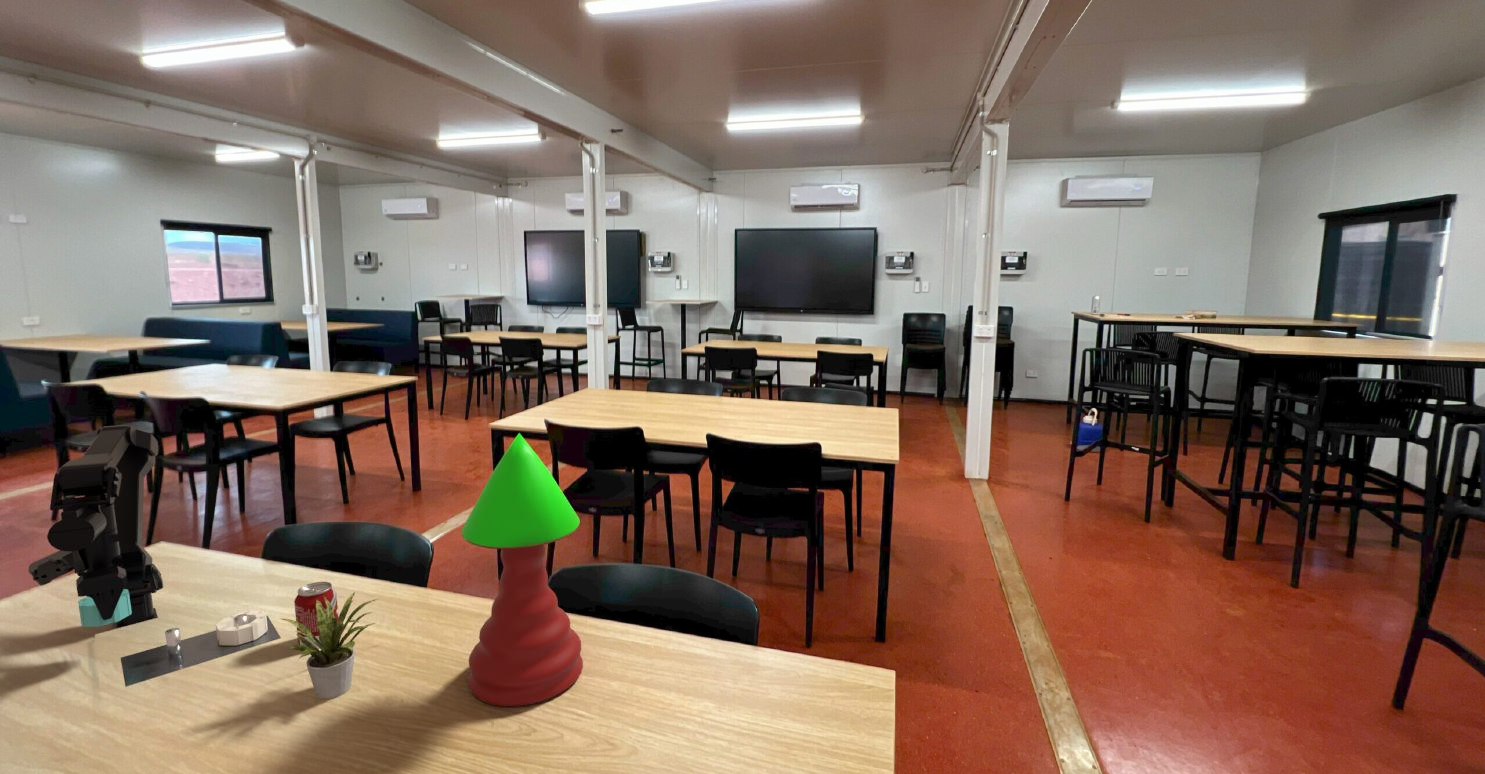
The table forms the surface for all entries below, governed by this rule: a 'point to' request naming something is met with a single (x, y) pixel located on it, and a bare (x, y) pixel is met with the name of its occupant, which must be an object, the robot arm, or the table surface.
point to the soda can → (313, 606)
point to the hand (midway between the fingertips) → (106, 612)
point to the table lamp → (522, 585)
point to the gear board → (185, 652)
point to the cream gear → (241, 628)
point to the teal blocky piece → (93, 617)
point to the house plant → (330, 650)
